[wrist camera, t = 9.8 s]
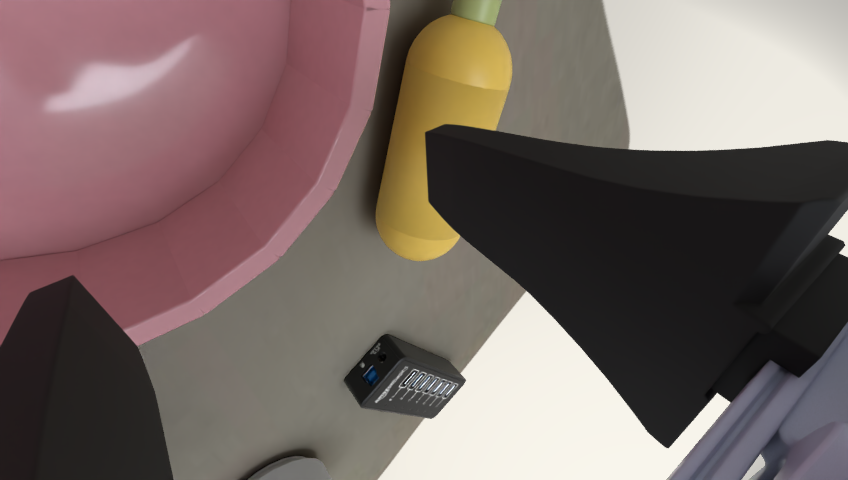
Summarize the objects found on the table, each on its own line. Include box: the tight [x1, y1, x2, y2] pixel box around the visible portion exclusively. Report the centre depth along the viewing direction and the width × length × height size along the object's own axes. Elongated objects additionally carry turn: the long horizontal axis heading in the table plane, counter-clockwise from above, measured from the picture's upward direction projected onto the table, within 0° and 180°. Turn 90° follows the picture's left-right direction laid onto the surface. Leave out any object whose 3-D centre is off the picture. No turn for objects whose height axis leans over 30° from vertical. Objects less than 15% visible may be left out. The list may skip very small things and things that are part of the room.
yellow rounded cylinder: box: [376, 0, 512, 261], centre depth 19 cm, size 12×4×4 cm, turn 161°
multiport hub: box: [344, 335, 466, 419], centre depth 32 cm, size 4×11×2 cm, turn 32°
